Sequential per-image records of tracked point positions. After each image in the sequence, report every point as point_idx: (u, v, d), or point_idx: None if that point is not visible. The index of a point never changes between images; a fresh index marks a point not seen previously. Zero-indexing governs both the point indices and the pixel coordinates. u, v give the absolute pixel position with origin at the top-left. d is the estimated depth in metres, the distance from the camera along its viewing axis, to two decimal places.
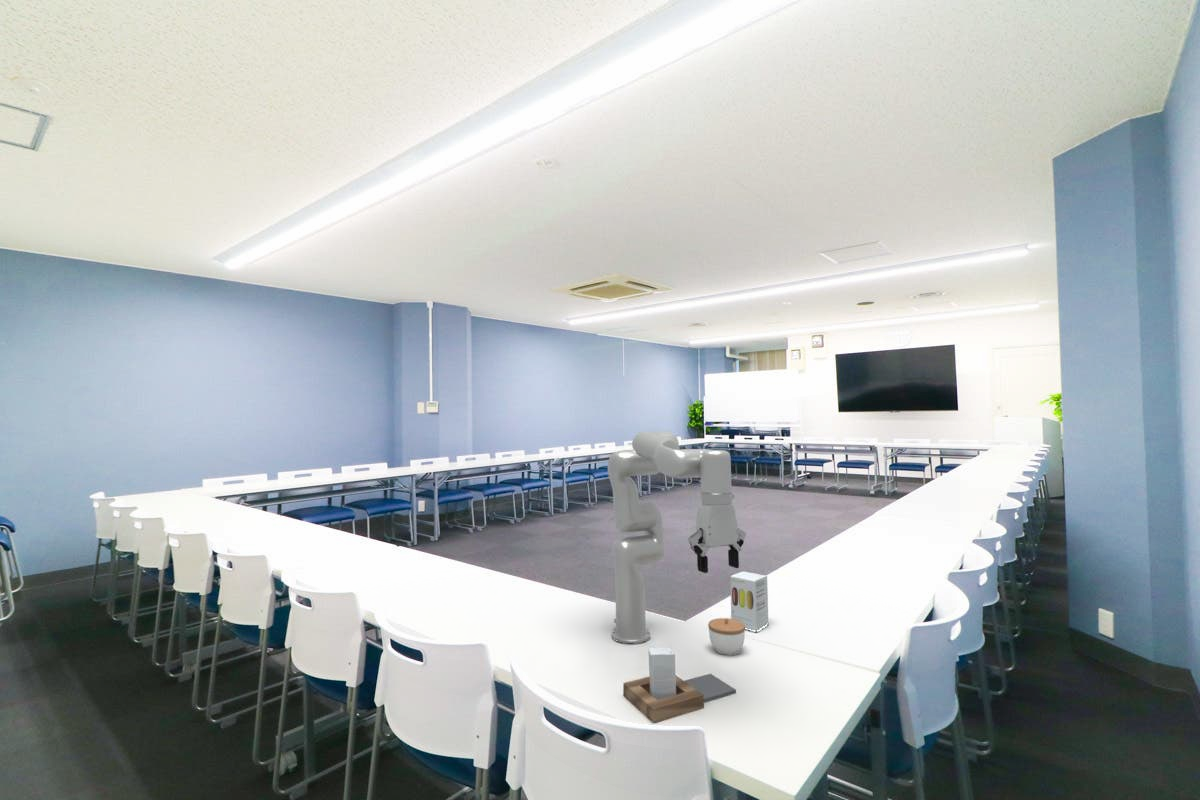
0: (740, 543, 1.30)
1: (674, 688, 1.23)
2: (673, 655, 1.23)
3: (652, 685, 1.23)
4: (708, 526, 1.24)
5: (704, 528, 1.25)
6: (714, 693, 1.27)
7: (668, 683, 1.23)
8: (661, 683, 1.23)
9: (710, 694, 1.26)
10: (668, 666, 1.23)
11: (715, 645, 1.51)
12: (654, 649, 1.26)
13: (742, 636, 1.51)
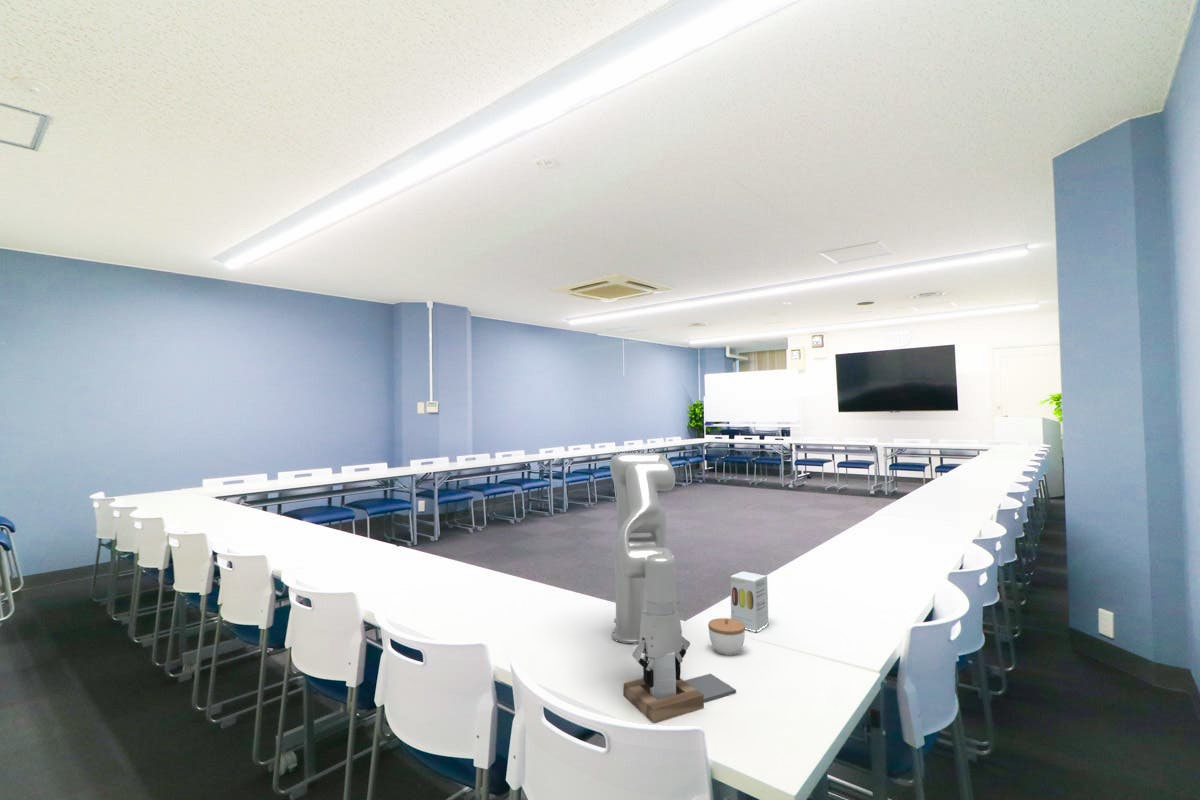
0: (682, 653, 1.27)
1: (674, 688, 1.23)
2: (673, 655, 1.23)
3: None
4: (650, 637, 1.22)
5: (646, 639, 1.22)
6: (714, 693, 1.27)
7: (668, 683, 1.23)
8: (661, 682, 1.23)
9: (710, 694, 1.26)
10: (668, 666, 1.23)
11: (715, 645, 1.51)
12: None
13: (742, 636, 1.51)
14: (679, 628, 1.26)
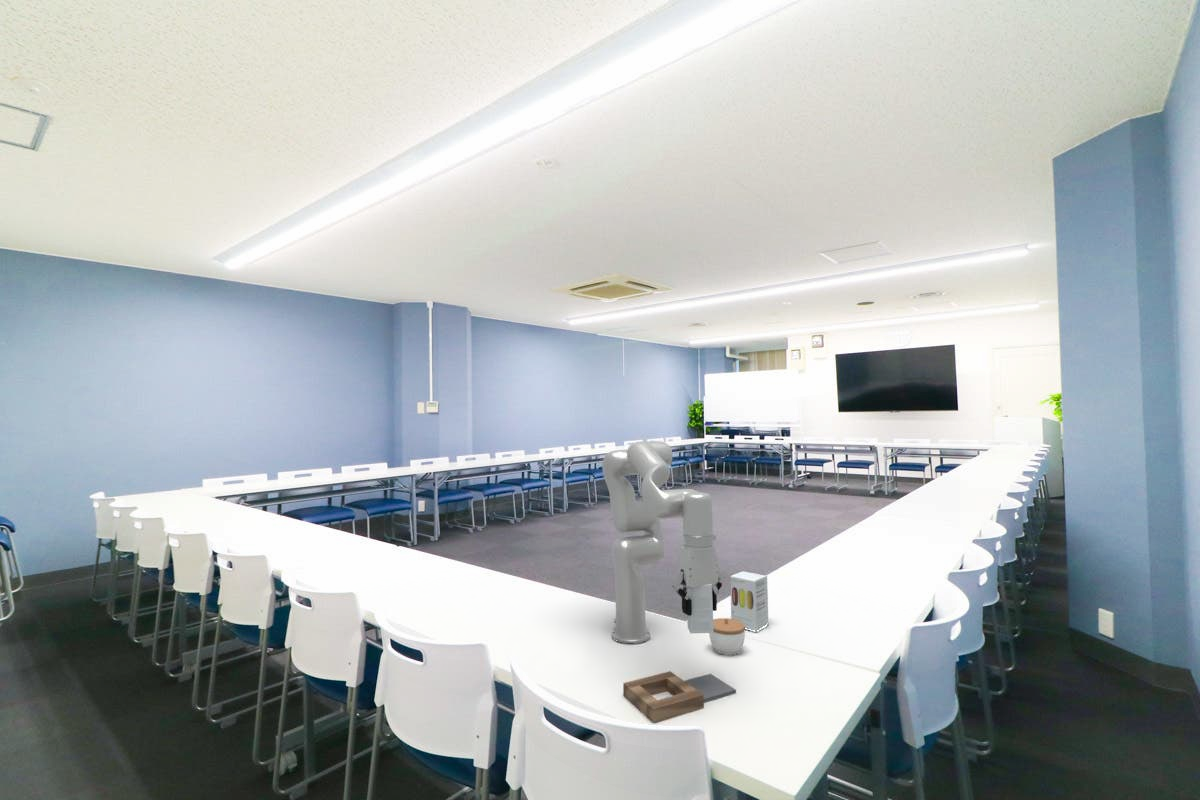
0: (718, 586, 1.33)
1: (711, 617, 1.29)
2: (710, 586, 1.30)
3: None
4: (689, 568, 1.28)
5: (685, 570, 1.29)
6: (714, 693, 1.27)
7: (705, 612, 1.29)
8: (699, 611, 1.29)
9: (710, 694, 1.26)
10: (705, 596, 1.30)
11: (715, 645, 1.51)
12: None
13: (742, 636, 1.51)
14: (715, 561, 1.32)
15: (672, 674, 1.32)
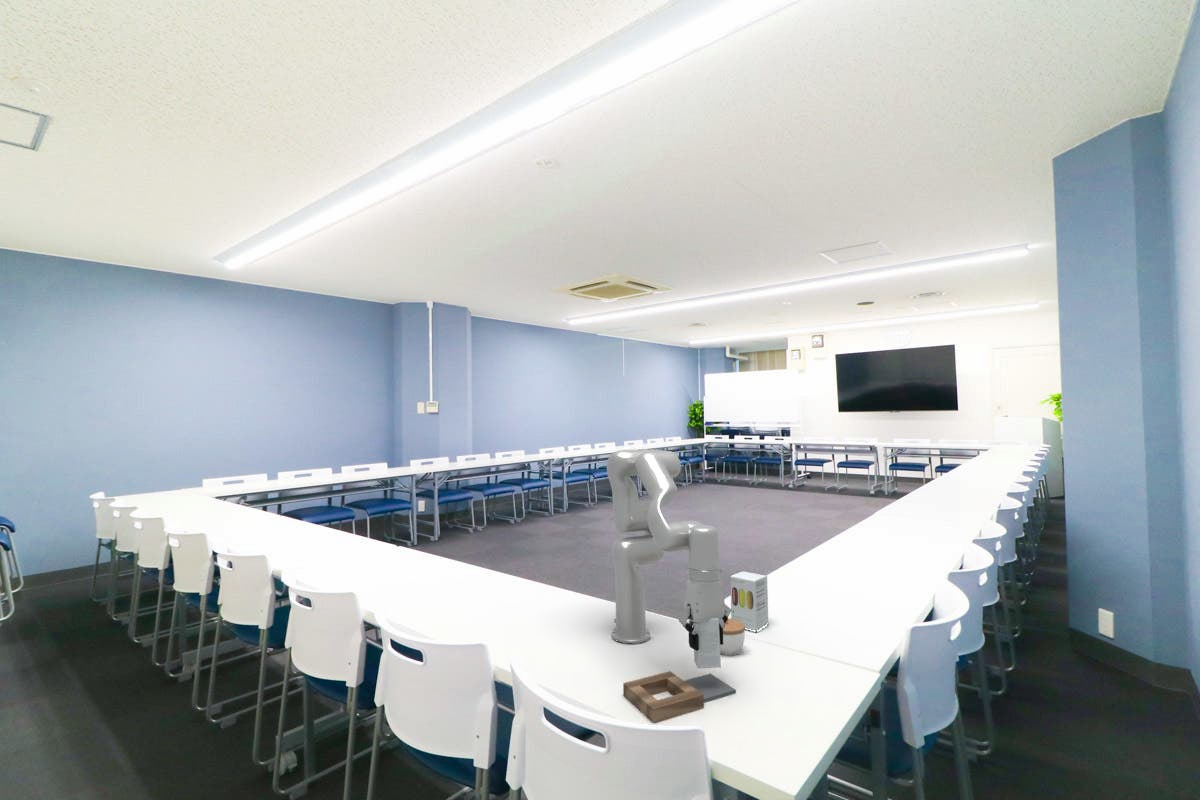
0: (724, 619, 1.33)
1: (718, 651, 1.29)
2: (717, 620, 1.30)
3: None
4: (696, 603, 1.28)
5: (692, 604, 1.29)
6: (714, 693, 1.27)
7: (712, 647, 1.29)
8: (706, 646, 1.29)
9: (710, 694, 1.26)
10: (712, 630, 1.29)
11: None
12: None
13: (742, 636, 1.51)
14: (722, 595, 1.32)
15: (672, 674, 1.32)
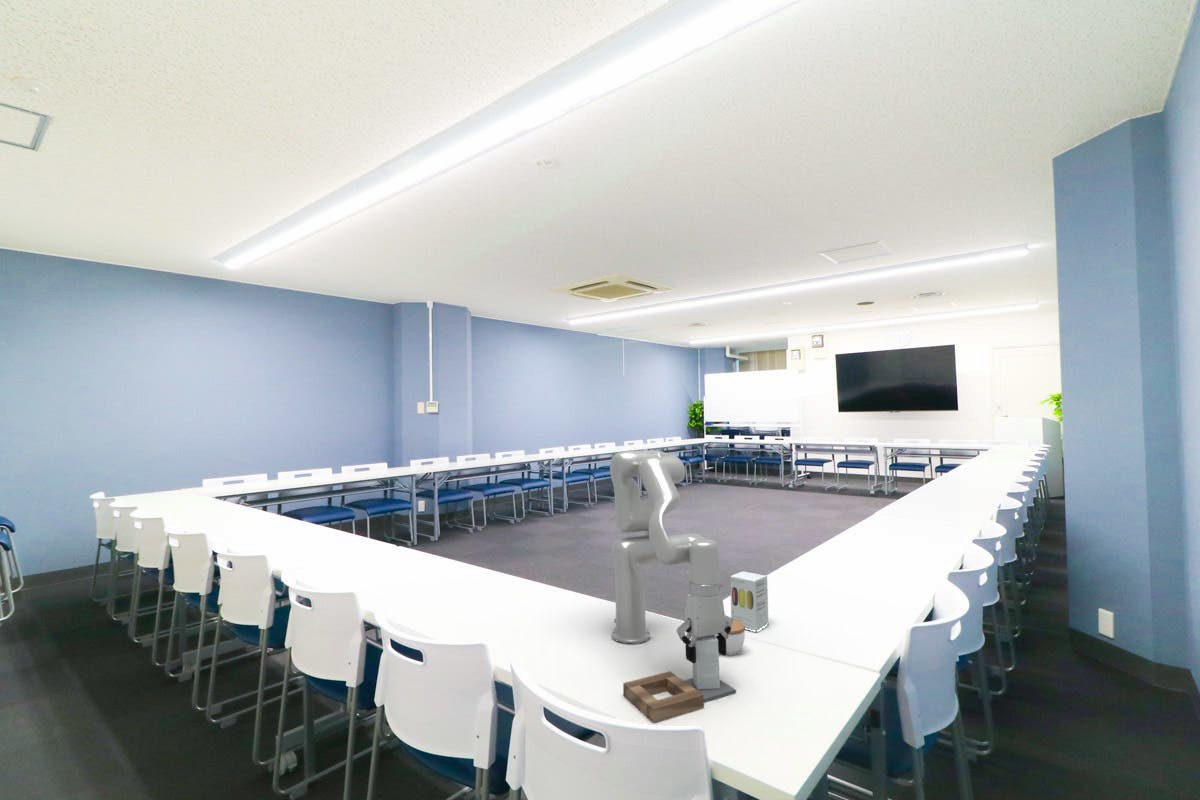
0: (728, 630, 1.34)
1: (718, 672, 1.29)
2: (716, 641, 1.30)
3: (697, 669, 1.29)
4: (696, 617, 1.28)
5: (692, 619, 1.29)
6: (714, 693, 1.27)
7: (711, 668, 1.29)
8: (705, 667, 1.29)
9: (710, 694, 1.26)
10: (712, 651, 1.29)
11: None
12: None
13: (742, 636, 1.51)
14: (722, 609, 1.32)
15: (672, 674, 1.32)
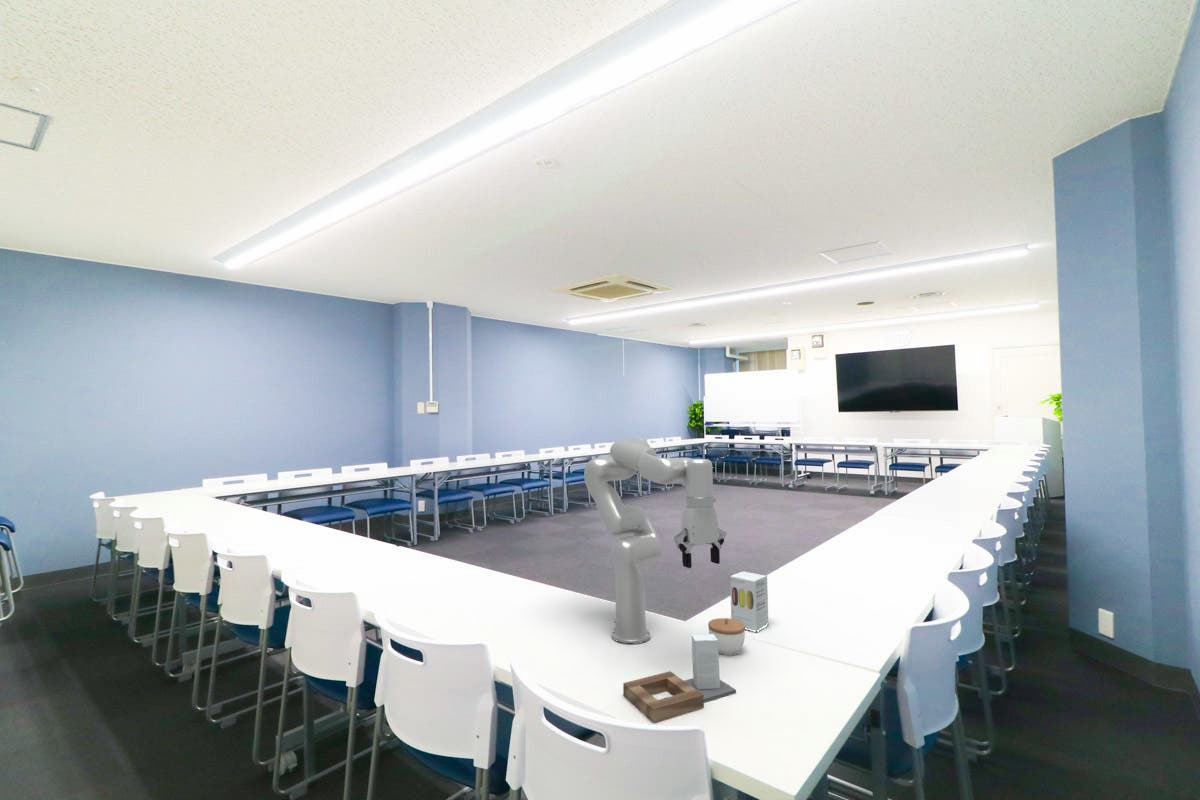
0: (721, 542, 1.46)
1: (718, 672, 1.29)
2: (716, 641, 1.30)
3: (697, 669, 1.29)
4: (692, 526, 1.40)
5: (688, 528, 1.41)
6: (714, 693, 1.27)
7: (711, 668, 1.29)
8: (705, 667, 1.29)
9: (710, 694, 1.26)
10: (712, 651, 1.29)
11: None
12: (697, 636, 1.32)
13: (742, 636, 1.51)
14: (716, 521, 1.44)
15: (672, 674, 1.32)
